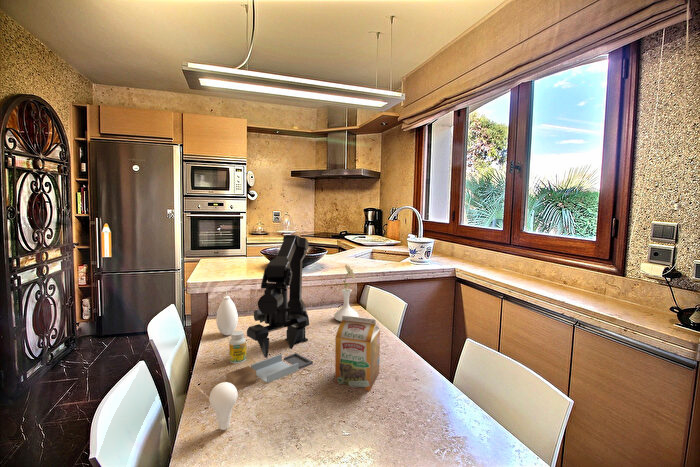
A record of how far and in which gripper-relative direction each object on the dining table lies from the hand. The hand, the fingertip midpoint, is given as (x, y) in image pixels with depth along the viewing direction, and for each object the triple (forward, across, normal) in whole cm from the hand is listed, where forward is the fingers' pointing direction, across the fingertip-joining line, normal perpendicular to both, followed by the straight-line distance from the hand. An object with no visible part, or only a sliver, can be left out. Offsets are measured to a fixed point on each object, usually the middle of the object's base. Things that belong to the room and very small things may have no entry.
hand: (278, 352), depth 107 cm
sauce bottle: (+6, -2, -39) cm, 40 cm away
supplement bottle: (+6, +6, -15) cm, 17 cm away
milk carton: (+6, -14, +21) cm, 26 cm away
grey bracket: (+6, +1, 0) cm, 6 cm away
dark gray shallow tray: (+6, -8, 0) cm, 10 cm away
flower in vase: (+6, -49, -19) cm, 53 cm away
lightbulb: (+6, +25, +15) cm, 30 cm away
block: (+6, +12, 0) cm, 14 cm away
